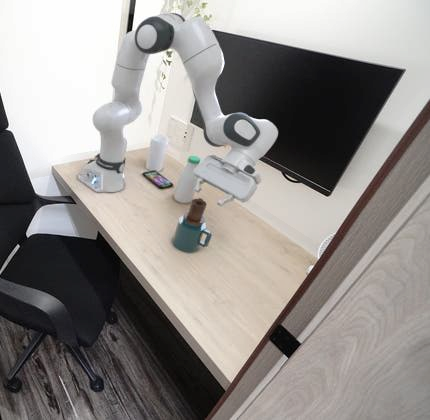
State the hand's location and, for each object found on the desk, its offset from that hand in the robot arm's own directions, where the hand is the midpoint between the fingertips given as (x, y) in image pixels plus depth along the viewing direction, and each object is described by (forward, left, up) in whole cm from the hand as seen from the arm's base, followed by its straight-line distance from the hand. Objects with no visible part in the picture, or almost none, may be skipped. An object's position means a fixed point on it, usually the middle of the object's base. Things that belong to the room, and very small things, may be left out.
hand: (207, 198), depth 108 cm
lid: (-1, -4, -8) cm, 8 cm away
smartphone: (-32, +29, -19) cm, 47 cm away
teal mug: (0, -4, -19) cm, 20 cm away
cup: (-40, +39, -19) cm, 59 cm away
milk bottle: (-16, +23, -19) cm, 34 cm away
